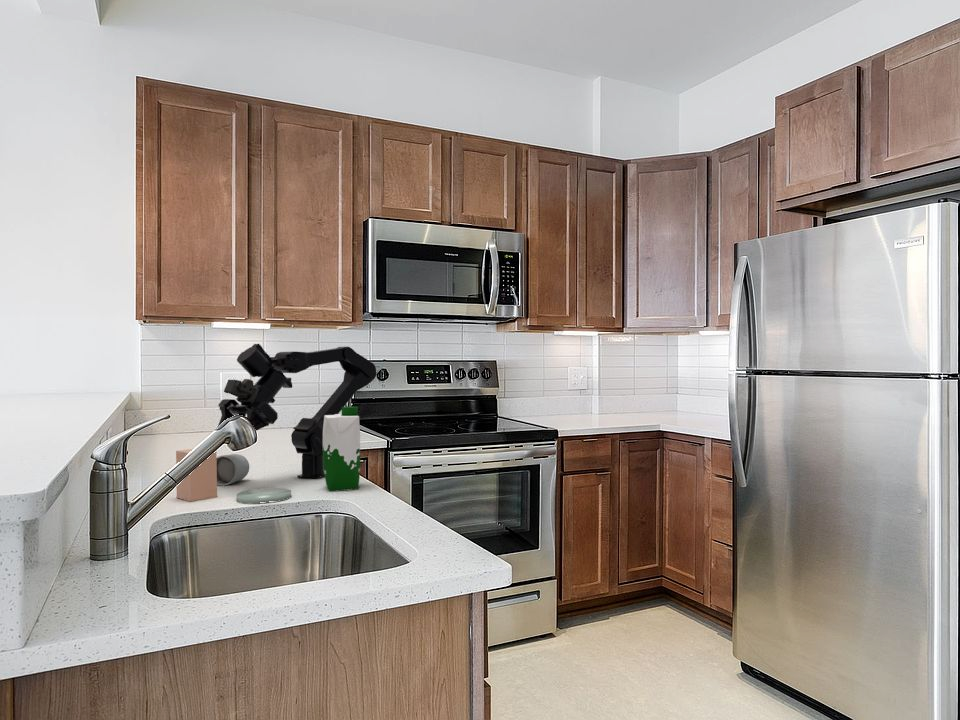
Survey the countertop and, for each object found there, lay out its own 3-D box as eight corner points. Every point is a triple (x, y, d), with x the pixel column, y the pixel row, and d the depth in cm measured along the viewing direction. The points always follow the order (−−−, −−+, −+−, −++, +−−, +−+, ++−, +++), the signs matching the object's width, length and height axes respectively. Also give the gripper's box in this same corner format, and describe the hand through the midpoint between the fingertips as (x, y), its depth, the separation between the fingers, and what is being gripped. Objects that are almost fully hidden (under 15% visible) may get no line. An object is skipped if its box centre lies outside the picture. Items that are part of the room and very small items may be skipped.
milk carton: (362, 489, 157) (361, 407, 157) (324, 492, 154) (323, 409, 154) (358, 483, 165) (357, 405, 165) (321, 485, 163) (321, 406, 163)
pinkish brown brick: (203, 493, 155) (202, 447, 155) (217, 496, 151) (216, 449, 151) (176, 498, 150) (176, 451, 150) (190, 501, 146) (189, 453, 146)
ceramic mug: (251, 479, 172) (251, 451, 172) (236, 486, 164) (235, 455, 164) (214, 480, 173) (213, 451, 173) (197, 486, 165) (196, 456, 165)
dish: (257, 491, 156) (257, 486, 156) (301, 493, 153) (301, 488, 153) (225, 502, 145) (224, 497, 145) (271, 505, 141) (271, 499, 141)
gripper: (224, 367, 166) (183, 414, 157) (266, 367, 154) (223, 417, 146) (253, 396, 172) (214, 442, 163) (294, 398, 160) (255, 448, 152)
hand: (225, 437), depth 156 cm, fingers open, 9 cm apart
